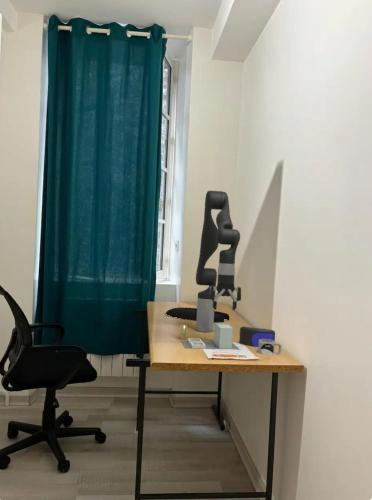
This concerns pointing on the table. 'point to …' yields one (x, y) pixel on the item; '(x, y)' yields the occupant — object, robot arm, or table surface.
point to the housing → (223, 335)
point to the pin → (183, 331)
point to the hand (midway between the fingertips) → (224, 309)
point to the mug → (268, 346)
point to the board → (201, 344)
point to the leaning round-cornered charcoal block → (254, 335)
